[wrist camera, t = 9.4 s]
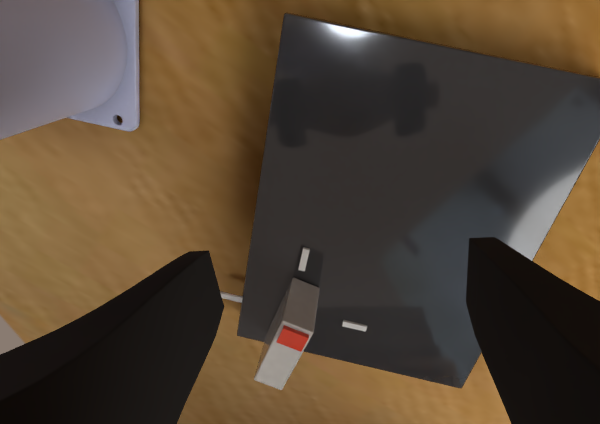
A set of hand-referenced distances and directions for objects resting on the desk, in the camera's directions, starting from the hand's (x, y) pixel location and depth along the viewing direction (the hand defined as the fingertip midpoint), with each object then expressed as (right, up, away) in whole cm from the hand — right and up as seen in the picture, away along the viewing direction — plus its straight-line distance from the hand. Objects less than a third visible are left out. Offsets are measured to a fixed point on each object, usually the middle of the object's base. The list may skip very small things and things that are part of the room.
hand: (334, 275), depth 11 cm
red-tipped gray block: (-1, -4, +11) cm, 12 cm away
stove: (+4, +1, +10) cm, 11 cm away
